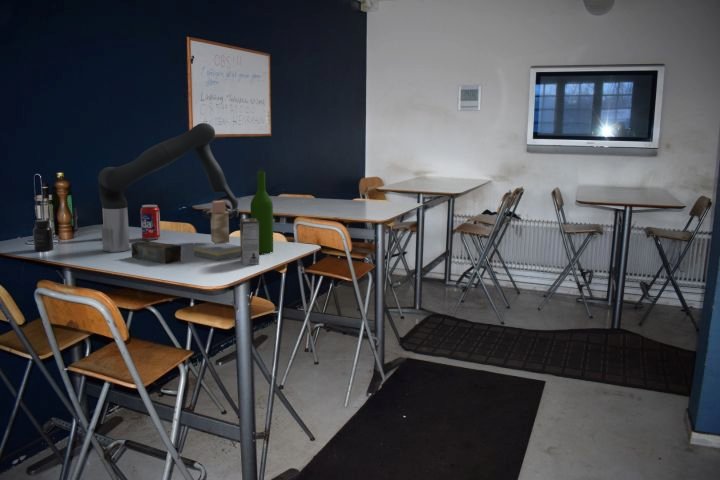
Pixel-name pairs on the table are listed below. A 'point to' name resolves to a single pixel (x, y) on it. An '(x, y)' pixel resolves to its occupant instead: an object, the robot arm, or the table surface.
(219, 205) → the cube
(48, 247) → the supplement bottle
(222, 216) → the wooden block
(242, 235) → the coffee box
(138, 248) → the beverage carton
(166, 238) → the table surface
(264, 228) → the wine bottle
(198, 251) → the dock
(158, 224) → the soda can
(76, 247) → the table surface
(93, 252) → the table surface
